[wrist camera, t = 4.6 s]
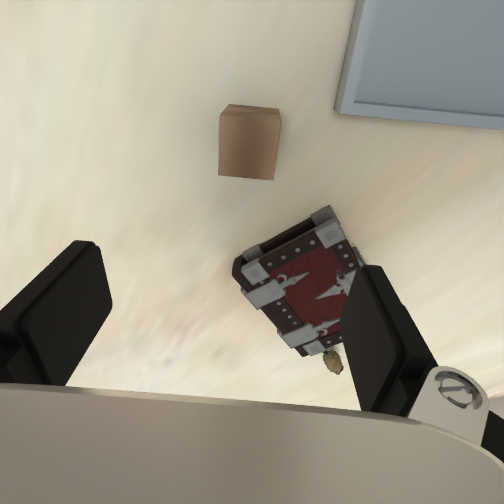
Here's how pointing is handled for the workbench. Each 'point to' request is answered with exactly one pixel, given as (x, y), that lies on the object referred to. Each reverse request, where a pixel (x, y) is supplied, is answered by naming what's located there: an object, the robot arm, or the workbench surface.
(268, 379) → the workbench surface
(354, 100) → the tray
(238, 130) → the walnut block
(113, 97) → the workbench surface
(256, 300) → the book
